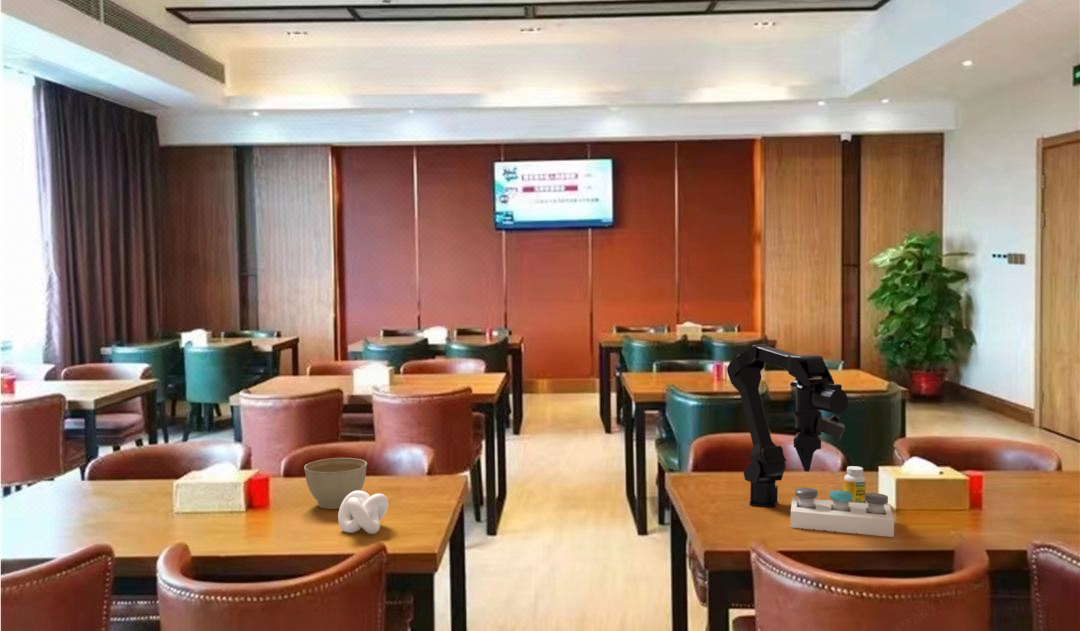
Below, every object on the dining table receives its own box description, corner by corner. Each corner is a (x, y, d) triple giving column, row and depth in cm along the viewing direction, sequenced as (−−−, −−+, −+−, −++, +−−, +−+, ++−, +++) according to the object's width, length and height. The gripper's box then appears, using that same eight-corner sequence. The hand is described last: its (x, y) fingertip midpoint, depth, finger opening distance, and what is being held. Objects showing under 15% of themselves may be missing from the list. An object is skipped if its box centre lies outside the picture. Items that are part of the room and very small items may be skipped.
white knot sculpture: (389, 537, 196) (389, 500, 195) (337, 541, 194) (336, 503, 193) (388, 522, 207) (387, 486, 206) (338, 525, 205) (337, 490, 204)
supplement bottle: (851, 499, 224) (852, 464, 223) (869, 504, 219) (870, 468, 219) (839, 502, 221) (839, 467, 220) (856, 507, 216) (857, 471, 216)
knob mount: (790, 527, 201) (790, 511, 201) (791, 512, 213) (792, 497, 212) (893, 536, 194) (893, 520, 194) (889, 521, 205) (889, 505, 205)
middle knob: (829, 514, 201) (829, 495, 201) (829, 508, 206) (829, 489, 206) (852, 516, 200) (852, 497, 199) (851, 510, 205) (851, 491, 204)
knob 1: (794, 511, 204) (795, 492, 204) (795, 505, 209) (795, 486, 209) (817, 513, 202) (817, 494, 202) (817, 507, 207) (817, 488, 207)
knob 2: (864, 517, 199) (865, 498, 199) (863, 511, 204) (864, 492, 204) (888, 519, 197) (888, 500, 197) (886, 513, 202) (887, 494, 202)
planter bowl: (379, 503, 222) (379, 463, 222) (327, 518, 211) (326, 475, 210) (345, 492, 233) (344, 454, 233) (293, 505, 222) (292, 465, 221)
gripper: (844, 415, 192) (843, 482, 193) (841, 401, 210) (840, 462, 211) (794, 413, 196) (792, 478, 197) (795, 399, 213) (794, 459, 215)
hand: (807, 469), depth 205 cm, fingers open, 3 cm apart
